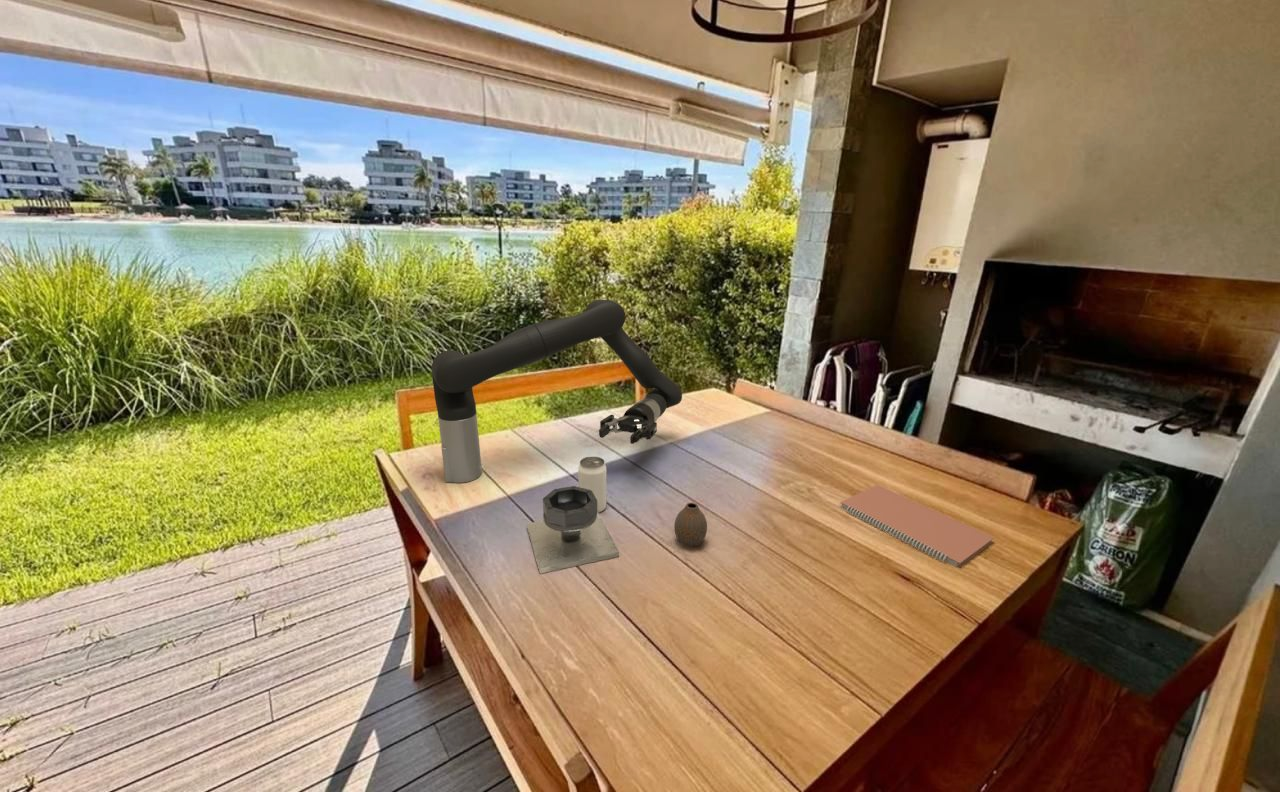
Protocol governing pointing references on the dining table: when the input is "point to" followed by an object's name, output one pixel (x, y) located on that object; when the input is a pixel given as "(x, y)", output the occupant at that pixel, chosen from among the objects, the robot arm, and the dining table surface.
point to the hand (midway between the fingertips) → (616, 437)
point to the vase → (690, 525)
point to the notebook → (918, 525)
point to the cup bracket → (570, 531)
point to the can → (594, 479)
